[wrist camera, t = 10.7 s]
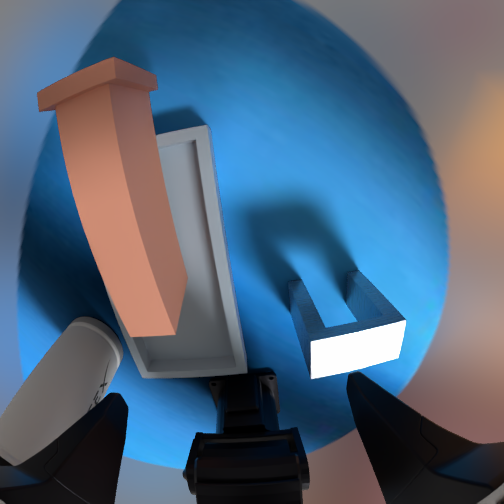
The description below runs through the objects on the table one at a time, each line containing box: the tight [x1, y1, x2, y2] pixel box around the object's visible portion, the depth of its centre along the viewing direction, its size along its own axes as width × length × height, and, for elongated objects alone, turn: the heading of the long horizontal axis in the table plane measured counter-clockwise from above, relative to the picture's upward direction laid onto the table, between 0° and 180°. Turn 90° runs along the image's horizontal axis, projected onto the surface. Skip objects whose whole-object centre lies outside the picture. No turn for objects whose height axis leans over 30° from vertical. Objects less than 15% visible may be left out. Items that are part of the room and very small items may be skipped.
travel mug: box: [0, 317, 123, 466], centre depth 13 cm, size 6×7×20 cm
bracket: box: [288, 270, 406, 379], centre depth 18 cm, size 3×6×8 cm, turn 97°
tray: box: [103, 125, 247, 378], centre depth 20 cm, size 19×10×2 cm, turn 7°
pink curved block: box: [37, 57, 188, 337], centre depth 14 cm, size 14×4×7 cm, turn 7°
